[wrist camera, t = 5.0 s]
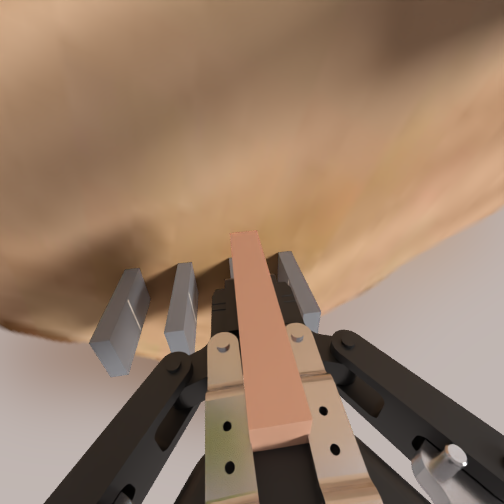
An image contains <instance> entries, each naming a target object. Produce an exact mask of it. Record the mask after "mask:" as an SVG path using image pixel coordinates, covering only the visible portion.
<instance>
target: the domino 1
mask: <svg viewBox="0 0 504 504" xmlns="http://www.w3.org/2000/svg"><path fill="white" fill-rule="evenodd" d="M150 301H151V299H150V296H149V293H148V290H147V288H146V285H145V282H144V280H143V277H142V274H141V271H140V269H139V268H135V269H126V270H125V271H124V273H123V275H122V277H121V279H120V281H119V283H118V285H117V287H116V289H115V291H114V293H113V295H112V297H111V299H110V301H109V303H108V305H107V307H106V309H105V311H104V313H103V315H102V317H101V319H100V321H99V323H98V325H97V328H96V330H95V332H94V334H93V336H92V338H91V340H90V342H89V344H90V346H91V347H92V349H93V350H94V352H95V353H96V355H97V356H98V358H99V360H100V361H101V363H102V364H103V366H104V367H105V369H106V370H107V372H108V374H109V375H110V377H115V376H122V375H128V374H129V372H130V368H131V365H132V361H133V358H134V355H135V351H136V348H137V345H138V341H139V338H140V334H141V331H142V328H143V324H144V321H145V317H146V314H147V311H148V307H149V304H150Z"/></svg>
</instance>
